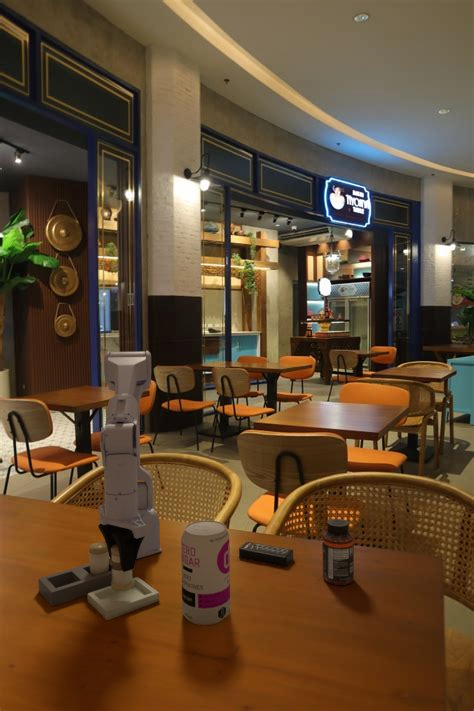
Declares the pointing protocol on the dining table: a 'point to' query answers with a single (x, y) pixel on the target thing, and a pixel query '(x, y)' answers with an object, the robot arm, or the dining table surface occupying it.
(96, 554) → the cylinder
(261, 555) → the multiport hub
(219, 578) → the supplement can
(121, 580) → the fuse
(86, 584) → the block
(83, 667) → the dining table surface
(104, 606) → the parts tray
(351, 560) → the supplement bottle
